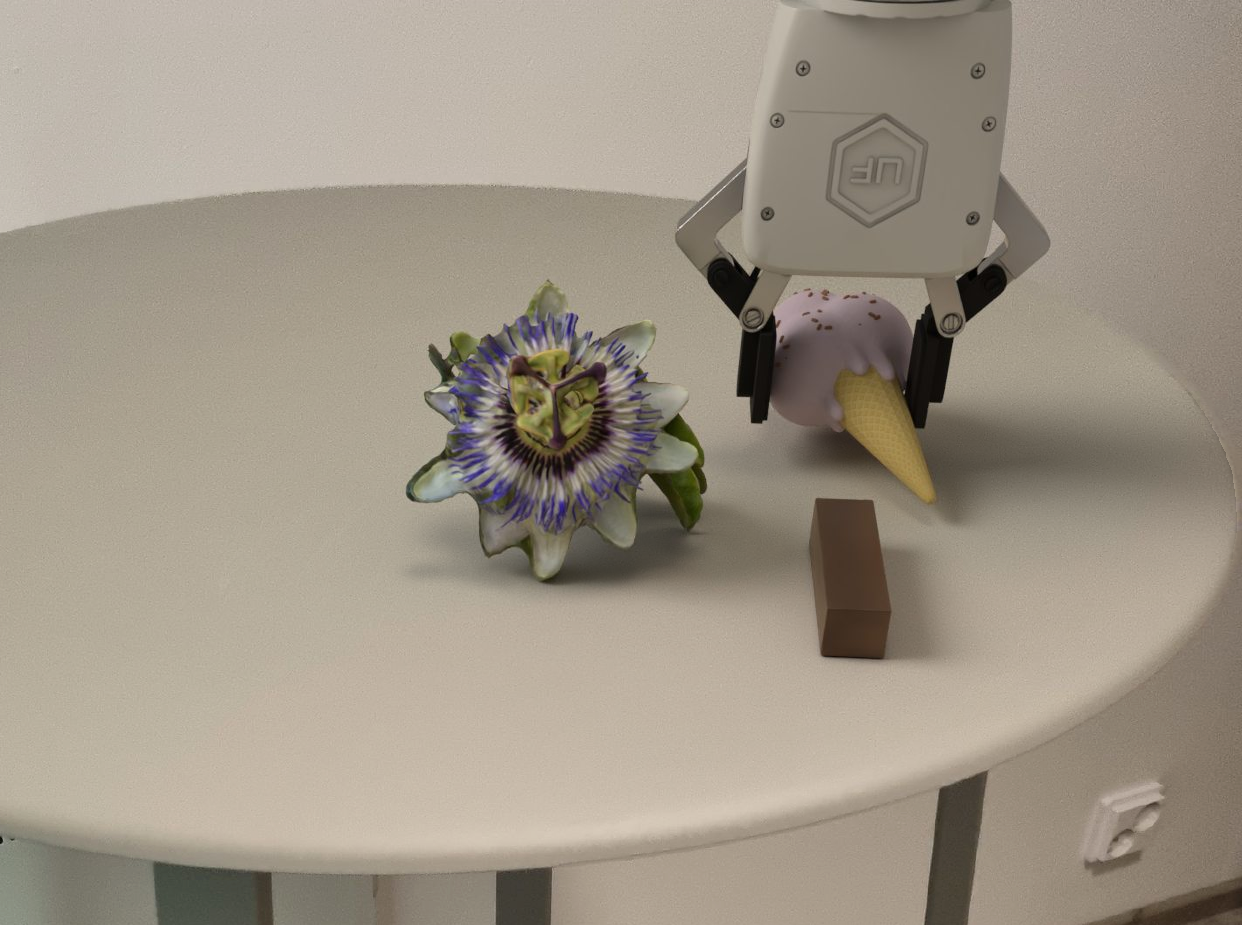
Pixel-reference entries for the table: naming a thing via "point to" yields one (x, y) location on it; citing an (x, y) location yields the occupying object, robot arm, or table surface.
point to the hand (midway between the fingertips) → (835, 411)
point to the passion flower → (558, 434)
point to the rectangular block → (849, 579)
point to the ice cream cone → (850, 376)
